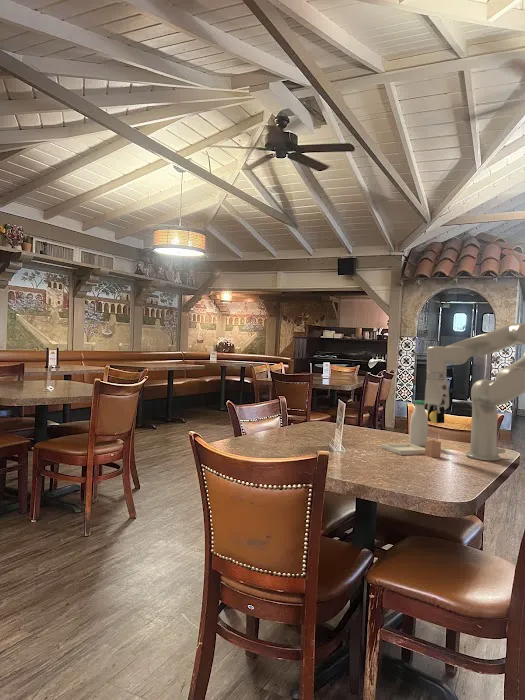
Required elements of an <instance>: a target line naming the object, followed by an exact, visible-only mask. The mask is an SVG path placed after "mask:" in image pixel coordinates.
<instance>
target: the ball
mask: <svg viewBox="0 0 525 700" xmlns="http://www.w3.org/2000/svg"><path fill="white" fill-rule="evenodd" d="M437 413H438V410H435V409H434V411H432V412H431V413H430V415H429V417H430V420H431V421H430V422H432V423H434V424H438V423H437Z"/></svg>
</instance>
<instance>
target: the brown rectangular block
mask: <svg viewBox="0 0 525 700" xmlns="http://www.w3.org/2000/svg"><path fill="white" fill-rule="evenodd" d="M424 448H425V454H424V456H427V457H430V458H441V450H442V449H441V448H442V441H440V440H435V439H431V440H430V439H429V440H428V439H427V440H426V443H425V446H424Z"/></svg>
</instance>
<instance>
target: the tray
mask: <svg viewBox="0 0 525 700" xmlns="http://www.w3.org/2000/svg"><path fill="white" fill-rule="evenodd" d="M380 447H381V448H380V449H382V450H385V451H387V452H391V453H394V454H396V455H398V456H409V455H411V456H415V455H425V447H423V446H416V445H413V444H410V443H409V442H407V443H404V442H403V443H381V446H380Z"/></svg>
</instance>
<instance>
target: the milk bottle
mask: <svg viewBox="0 0 525 700" xmlns="http://www.w3.org/2000/svg"><path fill="white" fill-rule="evenodd" d="M425 407H426V405H425V404H424V400H422V399H421V400H420V399H418V400H414V409H413V411H412V412H411V415H410V419H409V420H410V421H409V437H408V443H410V444H413V445H416V446H419V447H425V443H426V440H428V434H429V433H428V432H429V431H428V430H429V421H428V413H427V412H426V408H425Z"/></svg>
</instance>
